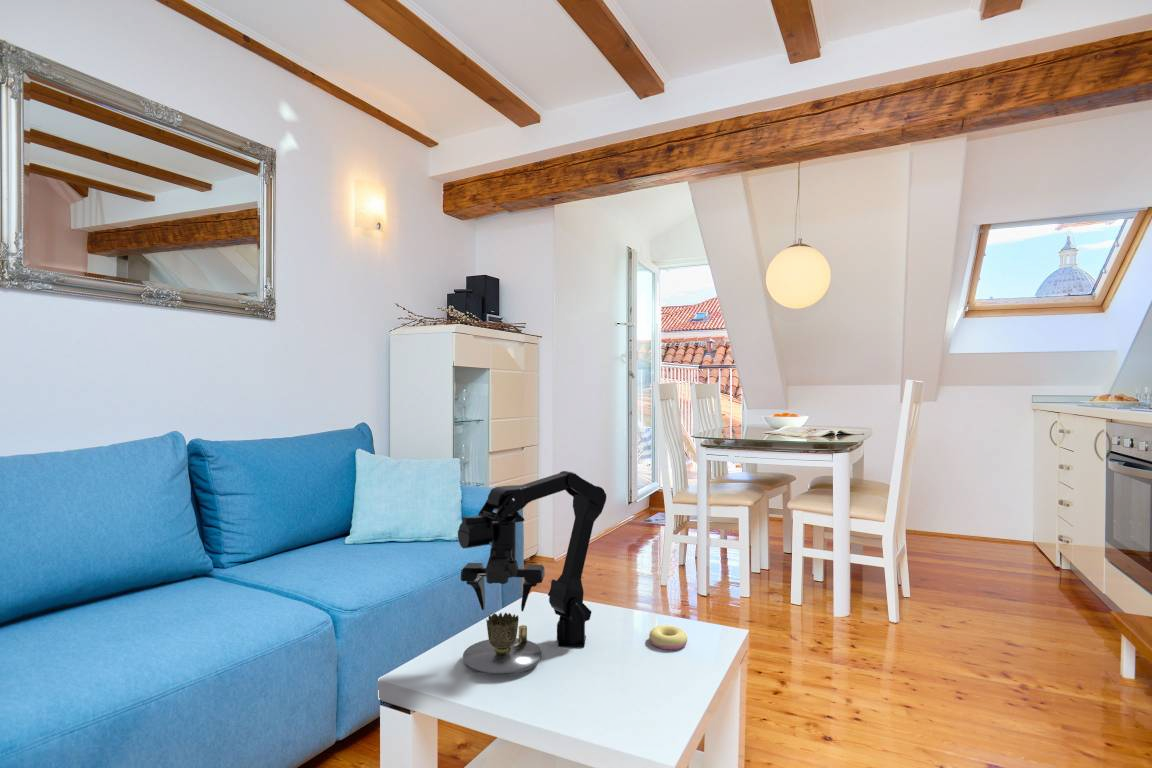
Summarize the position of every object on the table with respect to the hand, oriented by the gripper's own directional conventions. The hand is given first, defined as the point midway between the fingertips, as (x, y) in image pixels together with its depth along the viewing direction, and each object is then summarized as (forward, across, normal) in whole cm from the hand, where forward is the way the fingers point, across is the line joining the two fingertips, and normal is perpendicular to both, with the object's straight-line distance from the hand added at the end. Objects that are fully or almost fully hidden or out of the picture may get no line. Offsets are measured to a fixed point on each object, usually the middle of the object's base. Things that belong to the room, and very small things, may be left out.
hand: (502, 610), depth 139 cm
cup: (+10, 0, 0) cm, 10 cm away
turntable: (+11, 0, 0) cm, 11 cm away
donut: (+12, +39, +15) cm, 43 cm away
